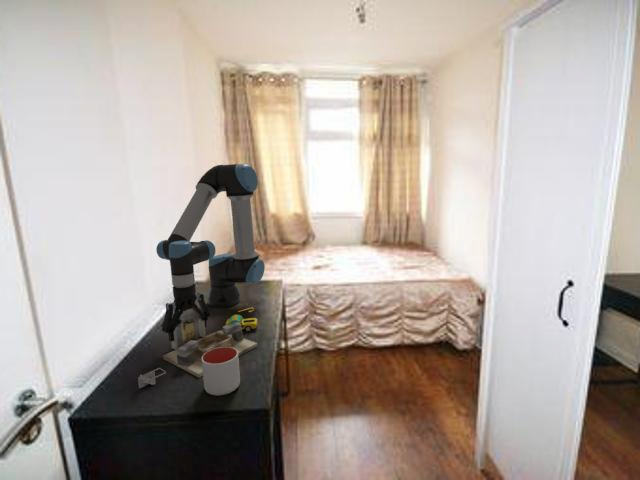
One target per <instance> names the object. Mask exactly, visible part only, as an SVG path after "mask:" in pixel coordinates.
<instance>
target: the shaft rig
mask: <svg viewBox="0 0 640 480" xmlns="http://www.w3.org/2000/svg"><path fill="white" fill-rule="evenodd" d="M225 325H226V324H225ZM225 325H224V326H222V329H219V330H217V331H214V332H213V333H210V334H209V335H206V337H201V338H198V339H196V341H194V340H191V341H189V342H188V343H186V344H184V345H181V346H179V347H178V349H176V350H175V349H173V350H172V351H170V352H168V353H165V354H163V355H162V359H163V360H164V361H167V362H168V363H170V364H172V365H174V366H176V367H178V368H179V369H182V370H184V371H185V372H187V373H190V375H193V376H194V377H197V378H202V377H203V369H202V356H203V355H204V354H205V353H206V352H207V351H209V350H212V349H215V348H219V347H231V348H234V349H236V350H237V351H238V357H240V356H242V355H244V354H245V353H247V352H249V351H251V350H253V349H255V348H257V347H258V343H257V342H255V341H253V340H250V339H246V338H244V332H243V331H242V330H243V329H242V327H241V324H240V323H239V322H237V323H233V324H230V325H226V326H225Z"/></svg>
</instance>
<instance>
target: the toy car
mask: <svg viewBox="0 0 640 480" xmlns="http://www.w3.org/2000/svg"><path fill="white" fill-rule="evenodd" d="M250 309H253V310H250ZM246 310H249V311H248V313H252V312H253V311H254V307H248V308H245V309H242V310H238V311H237V312H238V313H240V312H243V311H244V314H245V311H246ZM237 322H239V323H240V324H241V327H242V330H245V332H246V333H248V331H250V332H251V331H252V330H253V329H257V327H258V323H259V320H258V319H257V318H256V317H250V318H249V317H248V318H245V315H240V314H233V315H231V316H230V317H229V318H228V319H227V320H226V321H225V325H224V326H226V325H230V324H233V323H237Z"/></svg>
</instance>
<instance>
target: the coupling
mask: <svg viewBox="0 0 640 480" xmlns="http://www.w3.org/2000/svg"><path fill="white" fill-rule="evenodd" d="M180 325H181V326H180V327H181V335H182V344H183V345H184V344H186V343H188V342H189V341H191V340H194V341H196V340H197V339H196V328H195V320H194V318H192V317H191V318H183V319H182V321H181V323H180ZM183 345H182V346H183Z"/></svg>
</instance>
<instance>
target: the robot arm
mask: <svg viewBox="0 0 640 480" xmlns="http://www.w3.org/2000/svg"><path fill="white" fill-rule="evenodd" d="M258 184H259V181H258V175H257V172H256V171H255V169H254V168H253V167H252V165H250V164H246V163H244V164H243V163H238V164H237V163H235V164H233V163H232V164H217V165H215V166H212V167H211V168H210V169H208V170H207V171H206V172H205V173H204V174H203V175H202V176H201V177H200V178H199V180H198V182H197V183H196V185H195V192H194V194H193V195H192V197H191V199H190V201H189V202H188V204H187V206H186V207H185V209H184V210H183V212H182V214H181V215H180V217H179V219H178V221H177V223H176V225H175V226H174V228H173V230H172V232H171V233H170V235H169V236H168V239H165V240H161V241H159V242H158V244H157V245H156V254H157V257H158V258H160V259H162V260H167V261H169V264H170V273H171V274H170V275H171V276H170V277H171V284H172V295H173V302H170V303H169V302H167V303H165V314H164V319H163V322H162V323H163V324H162V328H161V331H162V332H164V333H165V334H168V336H167V337H168V341H169V342H171V343H170V344H171V349H173V350H176V349H178V348H179V346H178V345H179V344H178V334H177V331H175V329H176V327H177V325H178V323H179V321H180V318H181V316H182V315H183V313H184V312H186V311H188V310H192V311H193V312H194V313H195V314H196V315H197V316H198V317H199V318H200V319H198V320H197V321H198V329H199V331H198V332H199V336H200V337H201V338H203V337H206V336H207V334H206V328H207V326H208V325H207V321H208V320H209V317H211V313H210V310H209V308H208V306H210V307H213V308H227V307H231V306H234V305H237V304H239V303H240V302H241V295H240V292H239V290H238V288H237V285H236V284H243V285H257V284H258V283H259V282H261V280H262V279H263V276H264V273H265V262H264V261H263V259H261V258H259V253H258V252H257V251H256V249H255V240H254V239H255V237H254V226H253V215H252V204H251V203H252V202H251V198H252V197H253V196H254V191H256V190H257V188H258V186H259V185H258ZM222 192H225V193H226V194H225V195H226V197H227V198H228V199H229V201H230V208H231V218H232V228H233V231H232V232H233V239H234V248H235V252H234V253H232V252H231V253H221V254H217V255H216V246H215V245H214V243H213V242H212V241H210V240H201V241H191V240H192V237H193V236H194V234H195V232H196V230H197V229H198V226H199V225H200V222H202V221H201V220H202V219H203V218H204V215H205V213H207V209H208V208H209V206H210V204H211V202H212V200H214V199H215V198H217V197H218V195H219V194H220V193H222ZM207 261H208V272H209V273H208V274H209V284H210V291H209V294H208V298H207V304H208V306H207V304H206V301H205V297H204V294H203V293H199V292H198V293H196V284H195V282H196V281H195V280H196V278H195V271H194V269H195V268H194V265H198V264H200V263H203V262H207ZM196 301H197V302H198V304H199V307H200V308H201V309H200V308H199V307H198V305H197V304H196Z"/></svg>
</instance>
